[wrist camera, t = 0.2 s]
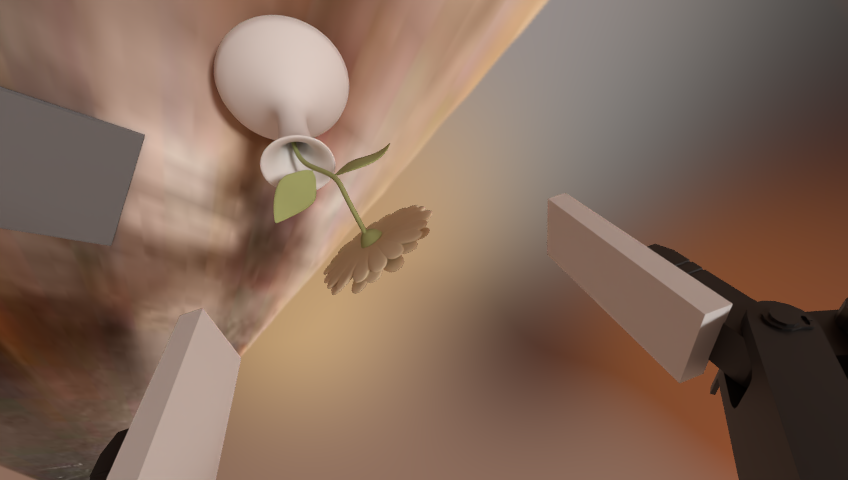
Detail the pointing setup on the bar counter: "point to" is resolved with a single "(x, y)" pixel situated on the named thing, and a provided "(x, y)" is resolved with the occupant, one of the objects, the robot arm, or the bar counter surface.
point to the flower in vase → (306, 134)
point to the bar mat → (62, 170)
